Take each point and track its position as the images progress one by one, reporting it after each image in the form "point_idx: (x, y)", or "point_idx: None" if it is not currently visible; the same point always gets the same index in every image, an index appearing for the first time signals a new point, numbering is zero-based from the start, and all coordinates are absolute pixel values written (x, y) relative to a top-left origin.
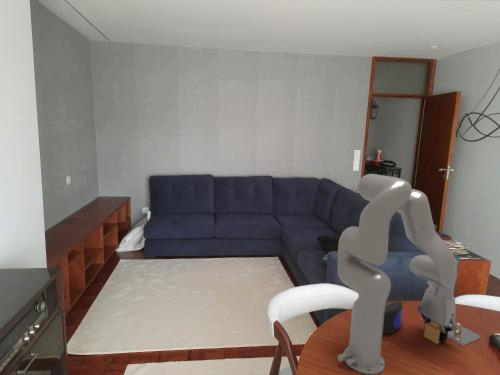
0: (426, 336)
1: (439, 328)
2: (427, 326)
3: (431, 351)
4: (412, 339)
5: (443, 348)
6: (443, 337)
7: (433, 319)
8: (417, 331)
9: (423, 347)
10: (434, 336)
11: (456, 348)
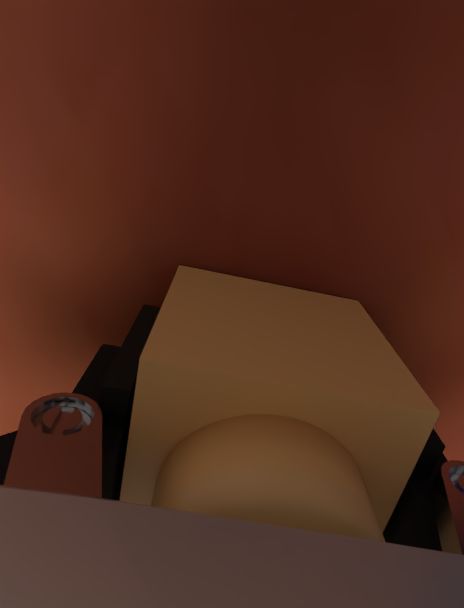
0: (325, 300)
1: (171, 453)
2: (375, 383)
3: (139, 13)
4: (451, 84)
5: (87, 243)
6: (107, 362)
7: (303, 566)
8: (449, 338)
9: (259, 11)
10: (217, 304)
11: (12, 365)
